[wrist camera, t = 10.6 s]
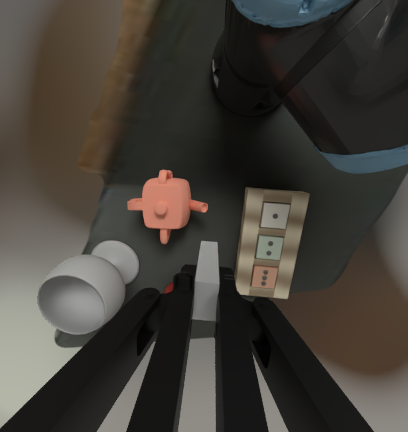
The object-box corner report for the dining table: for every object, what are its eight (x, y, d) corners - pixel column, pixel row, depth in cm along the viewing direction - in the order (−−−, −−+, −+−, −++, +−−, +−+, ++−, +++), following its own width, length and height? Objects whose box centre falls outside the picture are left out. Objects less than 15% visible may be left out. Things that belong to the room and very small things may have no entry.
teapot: (210, 202, 41) (210, 212, 32) (170, 234, 44) (159, 252, 34) (175, 160, 40) (163, 157, 30) (135, 196, 42) (113, 204, 32)
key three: (252, 259, 44) (254, 266, 41) (273, 261, 44) (278, 269, 41) (249, 278, 45) (251, 287, 42) (270, 280, 45) (274, 289, 42)
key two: (256, 231, 42) (259, 236, 39) (278, 233, 42) (284, 238, 39) (253, 252, 43) (256, 258, 40) (275, 253, 43) (279, 260, 40)
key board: (245, 187, 40) (248, 188, 37) (302, 191, 40) (309, 193, 37) (233, 286, 46) (234, 294, 43) (282, 290, 46) (287, 298, 43)
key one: (260, 200, 40) (264, 203, 37) (284, 202, 40) (290, 205, 37) (257, 222, 42) (261, 227, 39) (280, 224, 42) (285, 229, 38)
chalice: (141, 292, 48) (110, 346, 33) (87, 283, 48) (33, 333, 33) (146, 241, 44) (113, 276, 30) (87, 231, 45) (26, 262, 30)
